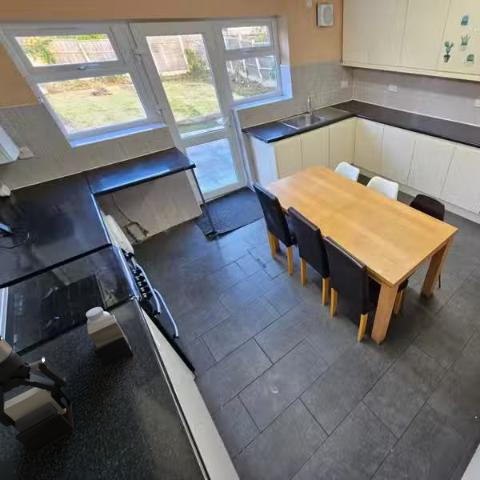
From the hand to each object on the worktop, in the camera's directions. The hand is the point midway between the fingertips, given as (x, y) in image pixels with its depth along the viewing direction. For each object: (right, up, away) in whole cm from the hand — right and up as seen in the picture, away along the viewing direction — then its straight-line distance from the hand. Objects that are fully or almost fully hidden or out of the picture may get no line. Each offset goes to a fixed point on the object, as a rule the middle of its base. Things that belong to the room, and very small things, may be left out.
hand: (44, 415), depth 72 cm
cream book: (0, -1, +1) cm, 2 cm away
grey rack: (0, -5, +3) cm, 5 cm away
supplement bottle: (-6, +10, +30) cm, 32 cm away
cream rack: (+2, +7, +24) cm, 25 cm away
